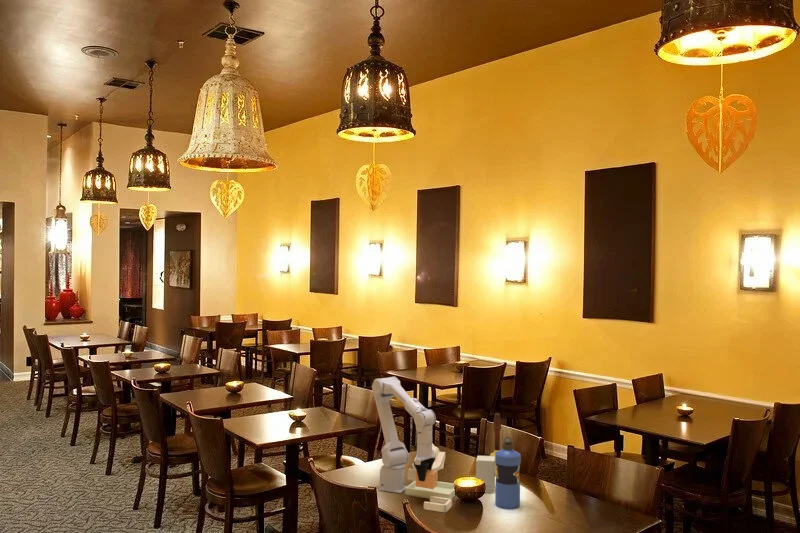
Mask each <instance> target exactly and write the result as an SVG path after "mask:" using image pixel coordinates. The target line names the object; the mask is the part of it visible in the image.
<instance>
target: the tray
mask: <svg viewBox="0 0 800 533" xmlns="http://www.w3.org/2000/svg"><path fill="white" fill-rule="evenodd" d="M454 484H455V483H452V482H446V481H445V482H444V481H439V480H437V486H436V487H435V488H434V489H428V488H422V487H416V481H413V480H412V482H411V483H410V484H408V485H406V486H407V487H406V488H405V490H404V496H409V497H416V498H417V497H418V498H425V499H429V500H430V496H435V497H442V498H449V499H452V500H453V498H454V497H455V496H456V495H455V489H454Z"/></svg>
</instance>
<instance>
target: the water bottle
mask: <svg viewBox="0 0 800 533" xmlns="http://www.w3.org/2000/svg"><path fill="white" fill-rule="evenodd" d="M513 442H514V440H513V439H512V437H511V436H506V437H505V438H504V439H502V444H501V445H502V446H501V448H502V449H500V451H497V452H496V453H495V462H496V470H497V475H495V489H494V494H495V498H494V499H495V503H494V505H495V506H496V507H497V508H499V509H503V510H516V509H519V508H520V506H521V480H520V468H521V463H522V461H521V460H522V458H521V457H522V456H521V455H522V454H521V453H520V452H519V451H516V450H515V449H514V448H515V447H514V446H515V445H514V444H515V443H513Z"/></svg>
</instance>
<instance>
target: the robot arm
mask: <svg viewBox="0 0 800 533" xmlns="http://www.w3.org/2000/svg"><path fill="white" fill-rule="evenodd" d="M371 389H372V393H373V398H374V401H375V405H376V409H377V412H378V413H377V414H378V418H379V422H380V426H381V430H382V433H383V438H384V442H385V444H384V445H383V446H382V448H381V460H382V461H381V462H382V464H383V465H382V466H381V468H380V471H379V488H378V490H379V491H383V492H390V493H398V494H401V493H403V492H405V488H406V487H407V486H408V485H405V467H407V464H408V462H409V461H410V460H409V459H410V454H409V452H408V450H407V448H406V445H405V443H403V442H402V441H400V440H399V437H398V431H397V428H396V424H395V420H394V415H393V411H392V408H391V405H390V401H391V399H393V397H395V398H397V400H399V401H400V402H401V403H403V405H404V410H405V411H406V412H407V413H408V414H409V415H410V417H412V418H413V421H414V424H415V429H416V434H417V435H416V436H417V438H416V440H417V441H416V455H415V457H416V459H415V458H414V460H415V461H414V460H413V462H414V466H415V468H416V470H417V474H418V479H419V481H425V477H426V470H431V469H432V465H433V463H434V461H435V455H434V450H432V443H433V426H434V425H435V424H436V421H437V417H436V414H435V412H434V411H433V409H428V408H426V407H425V406H424V405H423V404H422V403H420V401H419V400H418V398H415V397H411V396H410V395H409V394H408V393H407V391H406V390H405V389H404V387H402V385H401V380H399V379H398V378H397V377H396V376H395V375H394V376H389V377H383V378H382V377H381V378H375V379H373V382H372V385H371Z"/></svg>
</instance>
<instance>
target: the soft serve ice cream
mask: <svg viewBox="0 0 800 533" xmlns="http://www.w3.org/2000/svg"><path fill="white" fill-rule="evenodd" d="M432 450H434V455H435V461H434V463H433V465H432V469H431V470H433V471H438V472H439V471H440V470H443V469H444V466H445V460H446V451H440V447H437V446H435V445H434V443H433V442H432ZM415 459H416V456H415V458H414V459H413V463H412V464H411V465H412V469H416V468H415V466H414V461H415Z"/></svg>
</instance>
